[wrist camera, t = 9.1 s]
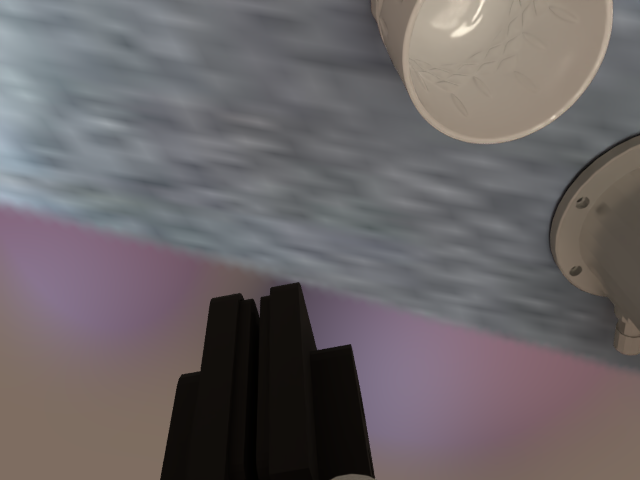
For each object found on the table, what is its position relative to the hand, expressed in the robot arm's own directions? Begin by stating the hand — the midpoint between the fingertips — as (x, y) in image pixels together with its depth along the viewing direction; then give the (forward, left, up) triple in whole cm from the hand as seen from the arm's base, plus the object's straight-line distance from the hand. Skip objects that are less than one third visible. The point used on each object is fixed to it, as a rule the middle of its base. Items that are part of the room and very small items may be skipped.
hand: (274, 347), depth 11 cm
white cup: (0, -9, -23) cm, 25 cm away
